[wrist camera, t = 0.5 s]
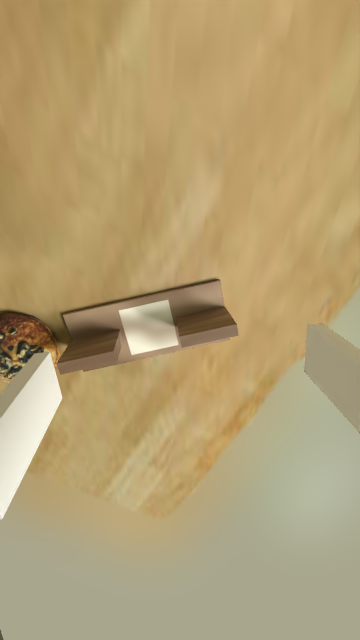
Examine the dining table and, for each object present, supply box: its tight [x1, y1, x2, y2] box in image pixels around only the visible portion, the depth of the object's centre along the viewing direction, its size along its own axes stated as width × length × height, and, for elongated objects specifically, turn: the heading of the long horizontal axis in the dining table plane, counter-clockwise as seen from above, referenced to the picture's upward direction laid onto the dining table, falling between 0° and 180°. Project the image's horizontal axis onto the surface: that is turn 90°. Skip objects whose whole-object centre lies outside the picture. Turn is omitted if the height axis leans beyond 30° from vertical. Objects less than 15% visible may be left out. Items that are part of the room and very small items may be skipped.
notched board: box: [57, 280, 238, 374], centre depth 40 cm, size 9×22×8 cm, turn 102°
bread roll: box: [0, 313, 60, 383], centre depth 42 cm, size 11×11×5 cm
